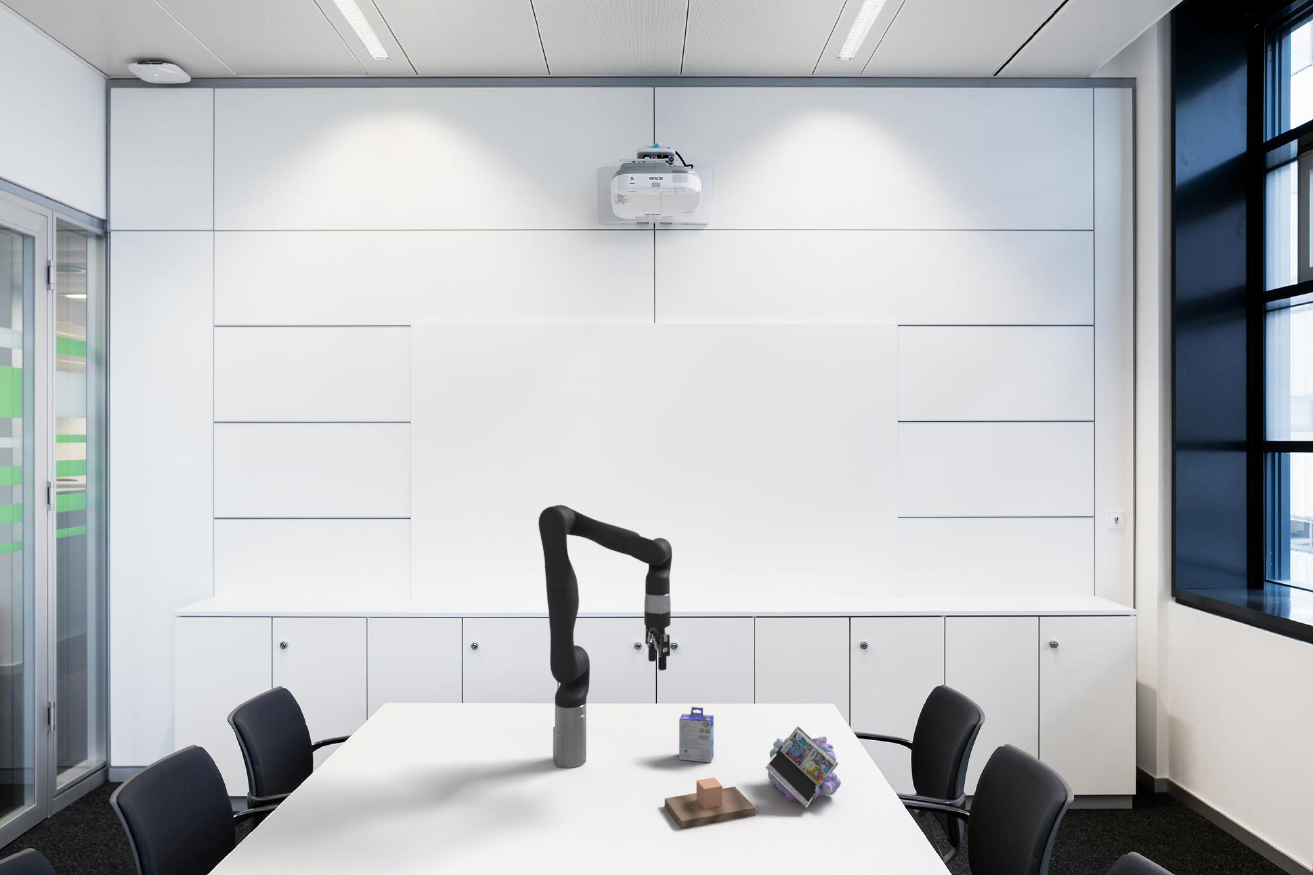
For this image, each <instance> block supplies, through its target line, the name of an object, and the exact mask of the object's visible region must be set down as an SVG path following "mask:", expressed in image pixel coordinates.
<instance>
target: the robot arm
mask: <svg viewBox="0 0 1313 875" xmlns="http://www.w3.org/2000/svg"><path fill="white" fill-rule="evenodd" d="M538 530H539V535H540V540H541V545H542V550H543V551H542V552H543V560H544V571H545V573H544V574H545V587H546V588H545V589H546V600H547V607H548V608H547V609H548V619H549V620H548V621H549V632H550V633H549V636H550V637H549V638H550V645H549V646H550V649H549V650H550V651H549V653H550V654H549V664H550V665H549V666H550V673H551V675H552V677H553V678H554V680H555V681H556V682H557V683H559V686H558V689H557V690H556V692H555V695H554V727H553V728H552V760H553V762H554V763H555V765H556V767H557V768H576V767H577V768H578V767H580V766H583V765H584V764H585V763H586V761H587V698H588V694H589V690H590V675H591V673H590V672H591V667H590V666H591V662H590V657H589V655H588V653H587V651H586V650H585V648H584V647H582V646H579V645H575V641H574V634H575V633H574V632H575V624H576V620H577V617H578V612H579V607H580V595H579V594H580V593H579V584H578V583H579V582H578V579H577V574H576V573H575V569H574V566H573V565H572V563H571V560H570V557H569V552H568V538H567V537H568V536H576V537H578V538H579V537H580V538H584V539H587V540H589V541H592V542H594V543H595V544H597V545H599V546H601V547H602V548H606V549H608V550H610V551H614V552H616V553H620V554H623V555H627V556H630V557H632V558H634V559H636V560H638V561H640V562H642V563H645V564H648V571H647V573H646V576H645V580H644V581H645V582H644V583H645V584H644V586H645V590H644V593H645V594H644V602H643V604H644V605H643V606H644V607H643V608H644V610H643V612H644V613H643V614H644V616H643V618H644V622H643V623H644V626H645V636H644V637H645V645H647V646H646V647H647V648H648V653H647V654H648V656H647V657H648V658H647V659H648V661H649V662H656V661H657V665H658V666H657V668H658V670H659V671H660V672H661V671H666V670H667V657H670V656H671V639H670V638H671V636H670V634H669V633H668V634H667V633H666V628H668V627H669V626H671V624H672V623H671V612H672V611H671V604H672V603H671V602H672V601H671V593H670V591H671V590H670V589H671V583H670V582H671V580H670V575H671V568H672V559H673V549H672V545H671V543H670V542H669V541H668V539H665V538H663V537H656V538H654V539H650V538H647V537H644V536H641V535H640V533H638V532H636V531H634V530H630V529H627V528H624V527H622V526H621V527H620V526H617V525H613V524H610V523H606V522H603V521H600V520H597V519H595V518H592V517H590V516H587V515H584V514H582V513H580V512H579V511H577V510H575V509H572V508H570V507H569V506H567V505H562V504H556V505H552V506H548V507H546V508H545V509H543V510H542V511H541V512H540V515H539V517H538ZM657 656H658V658H657ZM657 659H658V660H657Z"/></svg>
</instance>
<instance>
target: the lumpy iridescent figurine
mask: <svg viewBox="0 0 1313 875" xmlns="http://www.w3.org/2000/svg"><path fill="white" fill-rule="evenodd" d="M769 757H770V759H769V761H768V762H767V763H766V764H765V765H764V768H765V769H766V771H767V776H768V780H769V781H770V782H771V783H772V785H775V786H776V787H777V788H778V790H779V791H780V792H782V793H784V796H785V798H786V800H788V801H790V802H796V801H798V802H800V803H801V804H802V805H803V806H804V807H805V808H807V807H808V806H809V804H811V802H812V800H814V799H817V798H818V796H822V795H827V796H832V795H834V794H835V793H837V790H838V789H839V788H840V786H841V784H842V781H841V779H840V778H839V777H838V774H837V773H836V772H834V771H835V770H836V768H837V767H838V766H839V762H838V761H837V756H836V752H835V751H834V746H833V744H831V743H828V739H827V736H824V735H823V736H819V737H814V738H811V737H810V735H808V734H807V733H806V732H805V731H804V730H803V729H801V727H800V726H797V727H796V728H795V729H794V730H793V731H792V732H791V734H790V735H789V736H788V737H786V738H785V739H784V740H783V739H781V738H776V741H774V742H773V748H772V749H771V750H770V751H769Z"/></svg>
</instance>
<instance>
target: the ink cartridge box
mask: <svg viewBox="0 0 1313 875" xmlns="http://www.w3.org/2000/svg"><path fill="white" fill-rule="evenodd" d="M696 710H697V711H699V712H694V711H696ZM714 717H715V716H714V715H711V714H704V708H703V707H696V706H691V710H690V713H682V714H681V716H680V718H679V720H678V721H679V724H678V727H679V728H678V729H679V730H678V732H679V733H678V737H679V738H678V740H679V741H678V742H679V744H678V746H679V748H678V751H679V752H678V760H681V761H690V762H691V761H692V762H701V763H712V761H713V759H714V755H715V754H714V753H715V751H714V747H715V746H714V742H715V741H714V734H715V733H714V730H715V729H714V724H715V723H714V719H715V718H714Z"/></svg>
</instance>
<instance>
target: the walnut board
mask: <svg viewBox="0 0 1313 875" xmlns="http://www.w3.org/2000/svg"><path fill="white" fill-rule="evenodd" d="M664 807H665V809H666V810H667V811H668V813H669V814H670V816H671V817H672V818H673V819H674V821H675V822H676V824H677V825H678V826H679V828H680V829H681V830H684V829H691V828H695V827H701V826H706V825H707V826H708V825H711V824H717V823H722V822H727V821H734V820H738V819H745V818H750V817H755V816H756V807H755V806H754V805H753V804H752V803H751V801H749V800H748V799H747V797H746V796H745V795H744V794H743V793H742V792H741V791H740V790H739V789H738V788H737V787H736V786H728V787H722V806H718V807H712V808H707V809H704V808H703V807H702V806H701V804H700V803H699V802H698V801H697V792H694V793H688V794H684V795H676V796H670V797H667V798H666V797H665V798H664Z"/></svg>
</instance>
